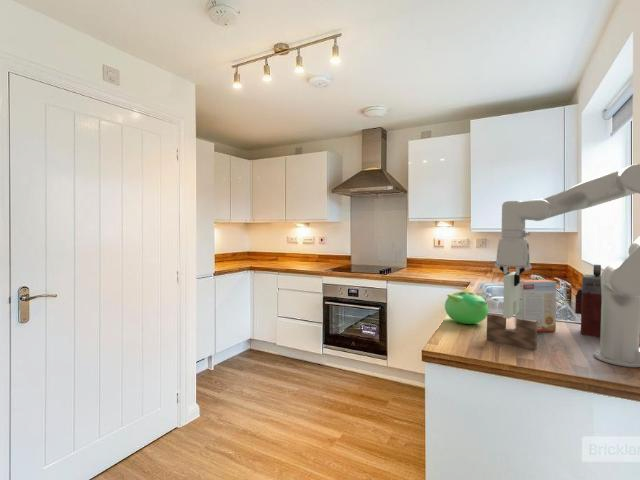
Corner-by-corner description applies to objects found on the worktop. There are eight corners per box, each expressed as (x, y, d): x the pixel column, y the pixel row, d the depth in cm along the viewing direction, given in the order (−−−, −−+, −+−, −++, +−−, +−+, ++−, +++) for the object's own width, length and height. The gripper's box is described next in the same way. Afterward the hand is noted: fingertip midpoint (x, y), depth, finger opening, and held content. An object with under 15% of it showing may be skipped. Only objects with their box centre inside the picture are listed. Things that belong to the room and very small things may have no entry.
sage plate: (519, 311, 131) (520, 272, 131) (509, 318, 121) (510, 276, 120) (513, 310, 133) (514, 271, 132) (503, 317, 122) (504, 275, 122)
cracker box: (546, 327, 147) (547, 279, 147) (556, 331, 141) (557, 281, 140) (514, 328, 147) (515, 279, 146) (522, 332, 141) (524, 281, 140)
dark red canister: (575, 328, 147) (577, 262, 145) (609, 333, 139) (612, 264, 138) (573, 333, 140) (575, 264, 138) (609, 339, 132) (612, 266, 131)
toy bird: (487, 320, 158) (488, 288, 158) (488, 330, 143) (489, 295, 142) (446, 316, 166) (446, 286, 165) (443, 325, 150) (443, 292, 150)
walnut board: (536, 348, 123) (537, 320, 123) (535, 350, 121) (535, 322, 121) (488, 338, 134) (489, 312, 133) (486, 340, 132) (487, 314, 131)
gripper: (540, 235, 123) (539, 286, 124) (492, 234, 134) (491, 281, 135) (536, 235, 117) (534, 289, 118) (486, 234, 128) (485, 284, 129)
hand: (512, 284), depth 126 cm, fingers closed on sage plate, 2 cm apart
